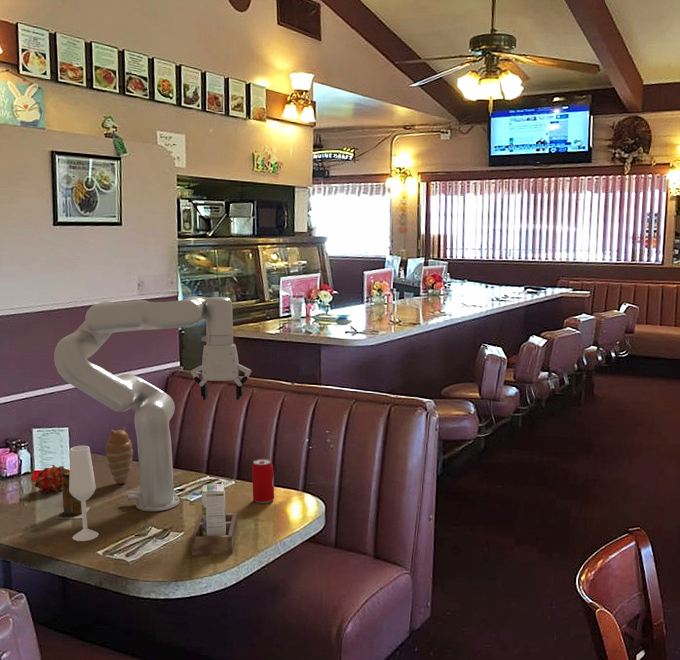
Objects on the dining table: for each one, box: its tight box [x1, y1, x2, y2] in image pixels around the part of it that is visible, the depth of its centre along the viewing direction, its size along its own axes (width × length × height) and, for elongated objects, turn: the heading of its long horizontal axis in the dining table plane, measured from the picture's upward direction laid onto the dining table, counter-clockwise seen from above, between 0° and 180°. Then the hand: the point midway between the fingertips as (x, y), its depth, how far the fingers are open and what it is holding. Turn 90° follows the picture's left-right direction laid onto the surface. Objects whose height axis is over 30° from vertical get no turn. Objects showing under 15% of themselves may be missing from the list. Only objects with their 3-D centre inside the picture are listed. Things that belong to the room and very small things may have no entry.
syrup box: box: [201, 483, 226, 536], centre depth 200 cm, size 6×6×14 cm
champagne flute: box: [69, 445, 99, 542], centre depth 207 cm, size 7×7×24 cm
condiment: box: [55, 469, 91, 520], centre depth 225 cm, size 7×8×12 cm
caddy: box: [190, 512, 239, 556], centre depth 203 cm, size 10×16×7 cm, turn 3°
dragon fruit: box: [34, 464, 69, 494], centre depth 245 cm, size 8×8×12 cm
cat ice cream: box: [104, 426, 134, 485], centre depth 249 cm, size 9×8×18 cm
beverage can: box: [251, 458, 275, 504], centre depth 232 cm, size 6×6×12 cm
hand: (221, 398), depth 228 cm, fingers open, 9 cm apart
